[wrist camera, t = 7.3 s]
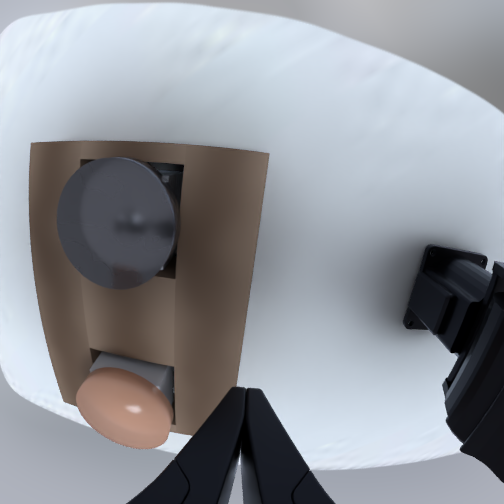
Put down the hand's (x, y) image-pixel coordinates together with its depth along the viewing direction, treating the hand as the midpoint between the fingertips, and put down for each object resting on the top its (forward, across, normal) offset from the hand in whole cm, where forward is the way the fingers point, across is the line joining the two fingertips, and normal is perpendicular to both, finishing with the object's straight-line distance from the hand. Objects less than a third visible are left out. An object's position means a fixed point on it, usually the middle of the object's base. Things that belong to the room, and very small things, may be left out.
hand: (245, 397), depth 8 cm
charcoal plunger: (+11, +7, -3) cm, 14 cm away
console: (+12, +7, +3) cm, 14 cm away
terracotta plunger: (+10, +8, +9) cm, 16 cm away
